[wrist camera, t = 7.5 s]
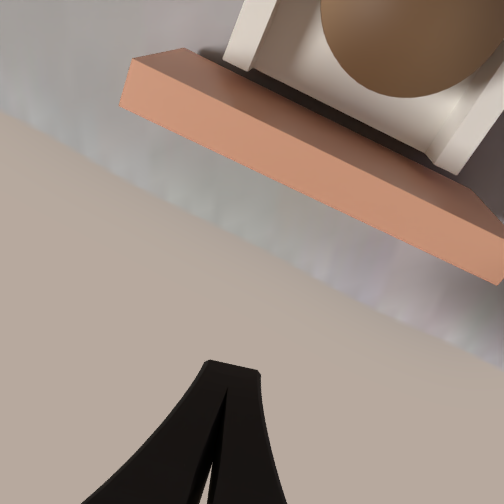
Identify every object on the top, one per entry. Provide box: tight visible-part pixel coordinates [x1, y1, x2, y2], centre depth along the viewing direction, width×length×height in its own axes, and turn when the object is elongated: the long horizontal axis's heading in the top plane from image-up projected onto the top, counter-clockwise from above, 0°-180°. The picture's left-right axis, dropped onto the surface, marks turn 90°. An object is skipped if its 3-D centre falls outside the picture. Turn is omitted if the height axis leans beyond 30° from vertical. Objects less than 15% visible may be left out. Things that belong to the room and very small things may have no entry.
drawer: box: [119, 0, 504, 286], centre depth 12 cm, size 11×10×5 cm
